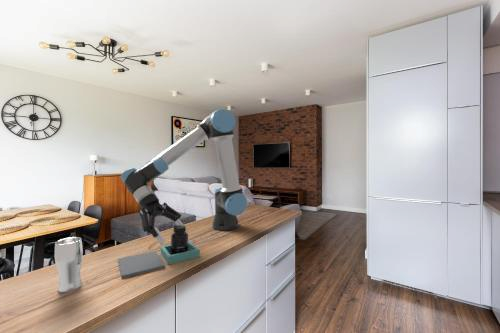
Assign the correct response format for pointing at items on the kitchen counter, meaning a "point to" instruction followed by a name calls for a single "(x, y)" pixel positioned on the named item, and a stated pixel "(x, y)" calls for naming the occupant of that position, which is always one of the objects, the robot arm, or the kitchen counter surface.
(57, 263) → the beer glass
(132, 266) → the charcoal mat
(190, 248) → the teal collar
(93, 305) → the kitchen counter surface
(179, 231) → the supplement bottle
